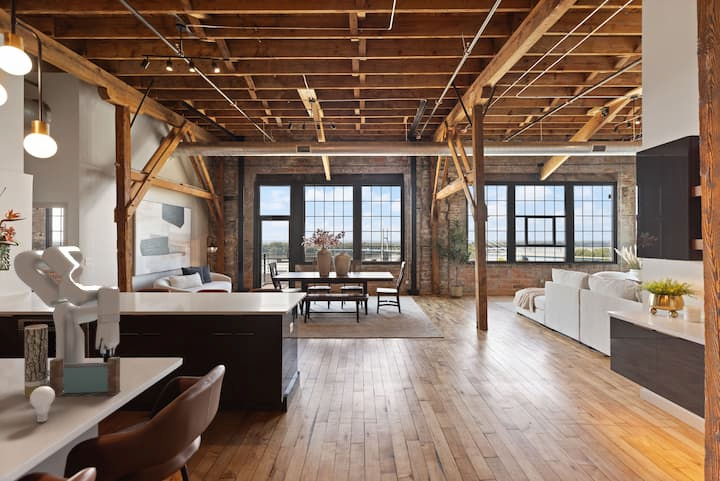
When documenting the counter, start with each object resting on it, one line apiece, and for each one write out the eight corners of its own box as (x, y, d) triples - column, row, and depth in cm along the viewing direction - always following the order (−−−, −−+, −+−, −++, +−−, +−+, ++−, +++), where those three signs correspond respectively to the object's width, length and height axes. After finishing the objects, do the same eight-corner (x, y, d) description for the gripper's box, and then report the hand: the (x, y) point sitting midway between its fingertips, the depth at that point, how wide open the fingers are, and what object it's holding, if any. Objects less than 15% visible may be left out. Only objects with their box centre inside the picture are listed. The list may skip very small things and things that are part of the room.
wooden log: (22, 399, 157) (22, 328, 157) (26, 393, 163) (26, 325, 163) (46, 396, 161) (46, 326, 161) (48, 390, 167) (49, 323, 167)
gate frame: (48, 397, 160) (48, 361, 160) (55, 393, 164) (55, 358, 164) (115, 395, 162) (115, 359, 162) (120, 391, 166) (120, 356, 166)
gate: (61, 393, 161) (61, 364, 161) (64, 391, 163) (64, 363, 163) (107, 391, 163) (107, 363, 163) (109, 390, 164) (109, 361, 164)
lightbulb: (38, 418, 141) (38, 383, 141) (59, 417, 141) (59, 383, 141) (24, 426, 134) (24, 390, 134) (47, 426, 135) (47, 389, 135)
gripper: (107, 315, 180) (107, 361, 180) (88, 322, 165) (88, 371, 165) (127, 315, 180) (127, 360, 180) (109, 321, 165) (110, 371, 165)
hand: (108, 365), depth 173 cm, fingers closed
